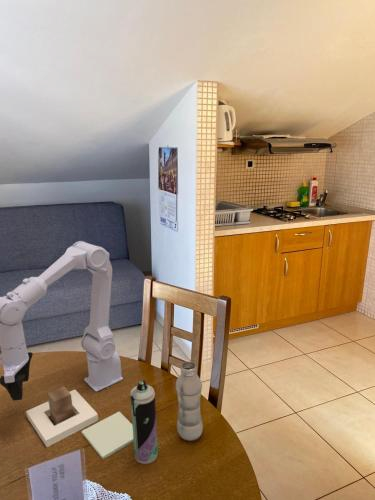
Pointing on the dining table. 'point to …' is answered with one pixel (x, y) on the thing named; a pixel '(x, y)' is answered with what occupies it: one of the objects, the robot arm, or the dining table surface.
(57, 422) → the walnut block
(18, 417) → the dining table surface
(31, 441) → the dining table surface
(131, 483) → the dining table surface
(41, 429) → the socket board
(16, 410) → the dining table surface
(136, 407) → the spray can
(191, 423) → the plastic bottle
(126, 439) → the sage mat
